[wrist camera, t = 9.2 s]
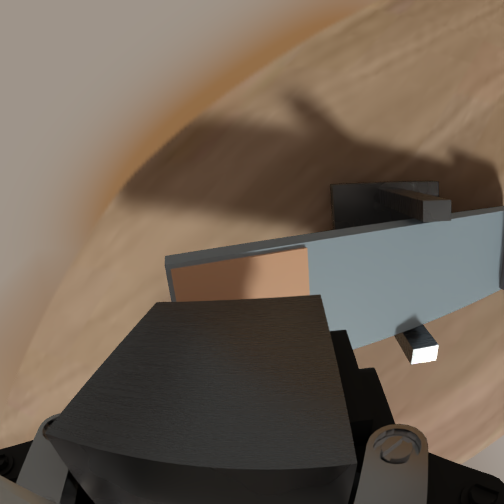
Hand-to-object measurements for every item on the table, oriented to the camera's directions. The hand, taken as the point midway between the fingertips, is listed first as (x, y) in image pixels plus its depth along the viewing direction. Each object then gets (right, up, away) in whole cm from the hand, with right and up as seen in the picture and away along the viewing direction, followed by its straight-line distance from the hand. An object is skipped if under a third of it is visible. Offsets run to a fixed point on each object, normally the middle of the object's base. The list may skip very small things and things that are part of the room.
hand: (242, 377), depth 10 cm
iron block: (0, 0, 0) cm, 1 cm away
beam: (+10, +3, +7) cm, 12 cm away
